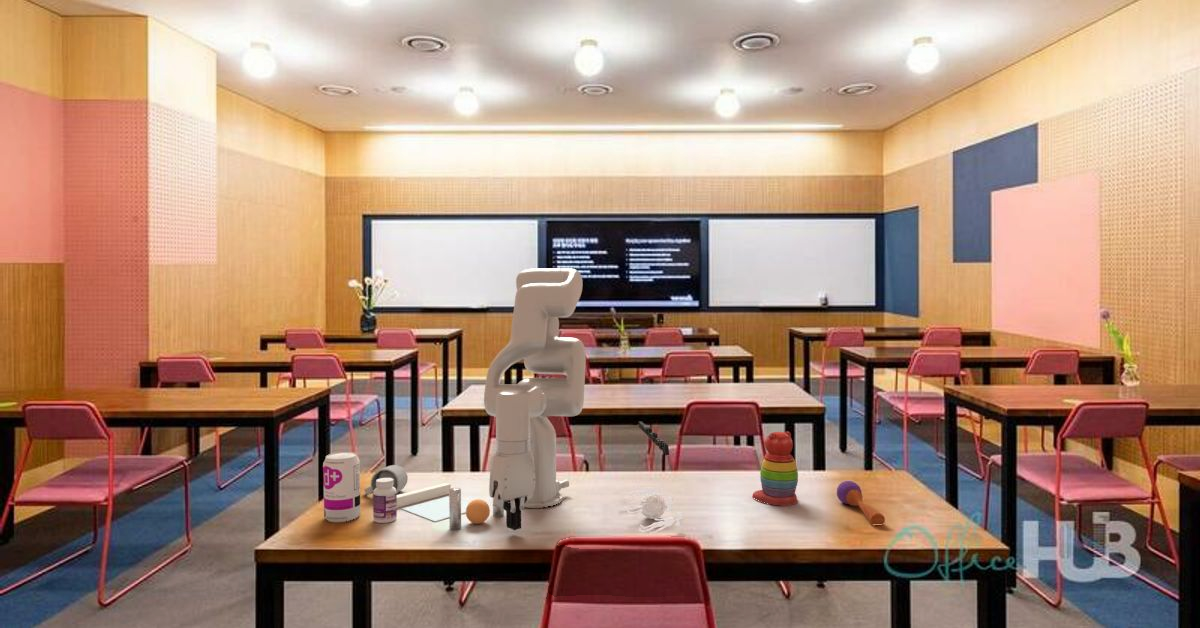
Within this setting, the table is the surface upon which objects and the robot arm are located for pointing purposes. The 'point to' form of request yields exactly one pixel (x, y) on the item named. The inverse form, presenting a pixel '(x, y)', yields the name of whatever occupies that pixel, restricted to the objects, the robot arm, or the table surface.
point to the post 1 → (455, 508)
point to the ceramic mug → (389, 472)
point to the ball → (477, 511)
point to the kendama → (857, 501)
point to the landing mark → (434, 509)
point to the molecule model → (652, 502)
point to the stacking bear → (778, 471)
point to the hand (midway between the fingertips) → (513, 527)
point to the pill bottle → (384, 501)
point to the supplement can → (341, 486)
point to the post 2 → (498, 511)
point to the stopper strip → (423, 494)
